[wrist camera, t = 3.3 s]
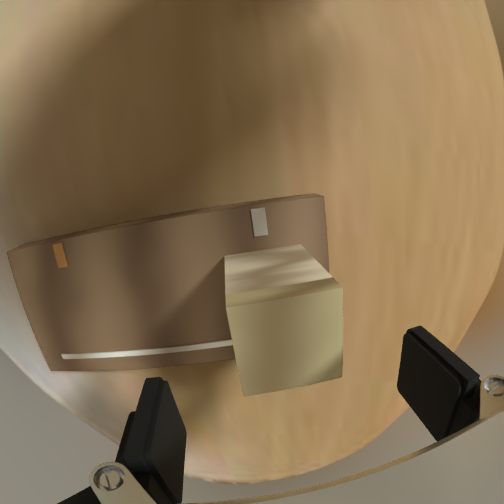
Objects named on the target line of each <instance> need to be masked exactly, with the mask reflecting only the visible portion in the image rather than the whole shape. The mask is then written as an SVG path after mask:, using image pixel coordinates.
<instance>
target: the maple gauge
mask: <svg viewBox="0 0 504 504" xmlns="http://www.w3.org/2000/svg"><path fill="white" fill-rule="evenodd" d="M224 258H225V296H226V311H227V317H228V322H229V327H230V332H231V337H232V343H233V348H234V353H235V358H236V363H237V368H238V373H239V377H240V382H241V387H242V392H243V396H250V395H257V394H263V393H269V392H275V391H280V390H286V389H291V388H296V387H301V386H306V385H311V384H315V383H320V382H324V381H328V380H332V379H337V378H341V377H342V365H343V287H342V286H341V285H340V284H339V283H338V282H337V281H336V280H335V279H334V278H333V277H332V276H331V275H330V274H329V273H328V272H327V271H326V270H325V269H324V268H323V267H322V265H321V264H320V263H319V262H318V261H317V260H316V259H315V258H314V257H313V256H312V255H311V254H310V253H309V252H308V251H307V250H306V249H305V248H304V247H303V246H302V245H301V244H300V245H293V246H286V247H280V248H273V249H267V250H260V251H254V252H247V253H241V254H234V255H227V256H224Z"/></svg>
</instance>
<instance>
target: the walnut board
mask: <svg viewBox="0 0 504 504" xmlns="http://www.w3.org/2000/svg"><path fill="white" fill-rule="evenodd" d="M300 244H301V245H302V246H303V247H304V248H305V249H306V250H307V251H308V252H309V253H310V254H311V255H312V256H313V257H314V258H315V259H316V260H317V261H318V262H319V263H320V264H321V265H322V267H323V268H324V269H325V270H326V271H327V272H328V273H329V256H328V241H327V227H326V215H325V203H324V196H321V195H318V194H306V195H297V196H289V197H281V198H274V199H266V200H259V201H252V202H245V203H238V204H231V205H225V206H218V207H212V208H205V209H199V210H193V211H187V212H181V213H175V214H169V215H164V216H158V217H153V218H147V219H142V220H136V221H131V222H126V223H121V224H116V225H111V226H106V227H101V228H96V229H91V230H86V231H82V232H77V233H72V234H68V235H63V236H59V237H54V238H50V239H46V240H41V241H37V242H33V243H29V244H25V245H21V246H19V247H17V248H15V249H13V250H11V251H9V252H7V255H8V258H9V262H10V266H11V269H12V273H13V276H14V279H15V282H16V286H17V289H18V292H19V295H20V298H21V300H22V303H23V306H24V309H25V312H26V314H27V317H28V320H29V322H30V325H31V327H32V330H33V332H34V334H35V337H36V339H37V342H38V344H39V346H40V348H41V351H42V353H43V355H44V357H45V359H46V361H47V363H48V366H49V368H50V370H51V371H98V370H124V369H141V368H155V367H167V366H178V365H188V364H197V363H206V362H214V361H222V360H229V359H236V358H235V353H234V348H233V343H232V337H231V332H230V327H229V322H228V317H227V311H226V296H225V258H224V256H227V255H234V254H241V253H247V252H254V251H260V250H267V249H273V248H280V247H286V246H293V245H300Z"/></svg>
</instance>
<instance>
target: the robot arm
mask: <svg viewBox="0 0 504 504" xmlns="http://www.w3.org/2000/svg"><path fill="white" fill-rule="evenodd" d="M479 376H480V375H479V374H478V373H476V372H475V371H474V370H473V369H472V368H471V367H469V366H468V365H467V364H466V363H465V362H464V361H463V360H461V359H460V358H459V357H458V356H457V355H456V354H454V353H453V352H452V351H451V350H450V349H449V348H447V347H446V346H445V345H444V344H443V343H441V342H440V341H439V340H438V339H437V338H435V337H434V336H433V335H432V334H431V333H429V332H428V331H427V330H426V329H424V328H423V327H422V326H417V327H414V328H411V329H408V330H407V332H406V334H404V337H403V345H402V353H401V361H400V368H399V375H398V382H397V388H398V391H399V393H400V394H401V395H402V396H403V398H404V399H405V400H406V402H407V403H408V404H409V406H410V407H411V408H412V409H413V411H414V412H415V413H416V414H417V416H418V417H419V419H420V420H421V421H422V422H423V424H424V425H425V426H426V428H427V429H428V430H429V432H430V433H431V434H432V436H433V437H434V438H435V439H436V441H438V442H436V443H434V444H432V445H430V446H427V447H425V448H423V449H421V450H419V451H416V452H414V453H412V454H409V455H407V456H404V457H402V458H400V459H398V460H395V461H392V462H389V463H387V464H384V465H382V466H379V467H376V468H373V469H370V470H367V471H364V472H361V473H358V474H355V475H352V476H349V477H345V478H342V479H339V480H335V481H332V482H328V483H324V484H320V485H316V486H312V487H308V488H303V489H299V490H294V491H289V492H284V493H278V494H273V495H266V496H260V497H253V498H245V499H236V500H228V501H217V502H205V503H188V504H504V377H503V376H499V375H491V376H488V377H486V378H485V379H483V380H482V381H481V380H480V379H479ZM185 448H186V429H185V426H184V424H183V421H182V419H181V416H180V414H179V411H178V408H177V406H176V403H175V400H174V398H173V395H172V392H171V390H170V387H169V384H168V382H167V381H166V380H164V381H163V379H162V378H161V377H155V378H146V380H145V383H144V386H143V389H142V392H141V395H140V399H139V402H138V405H137V409H136V411H134V412H131V413H130V414H129V417H128V420H127V423H126V426H125V429H124V433H123V436H122V439H121V443H120V446H119V450H118V453H117V457H116V460H115V462H106V463H103V464H100V465H99V466H97V467H96V468H95V469H94V470H93V471H92V472H91V474H90V477H89V482H90V485H91V486H89V487H88V488H86V489H84V490H82V491H80V492H79V493H77V494H75V495H73V496H71V497H69V498H67V499H65V500H64V501H62V502H60V503H58V504H181V502H182V491H183V475H184V461H185Z"/></svg>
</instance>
